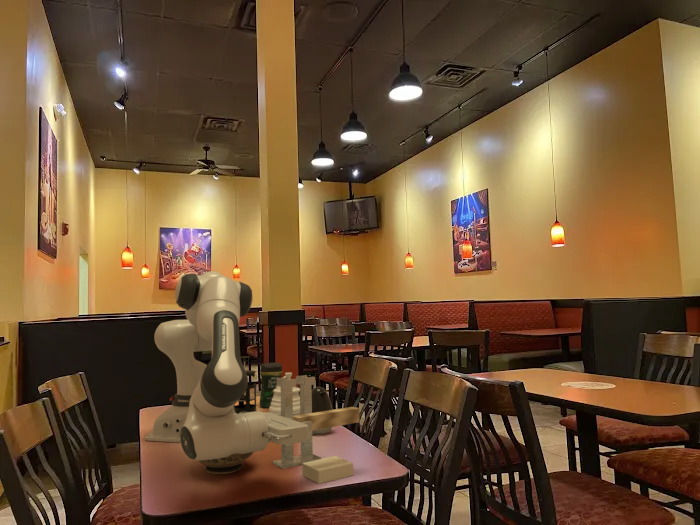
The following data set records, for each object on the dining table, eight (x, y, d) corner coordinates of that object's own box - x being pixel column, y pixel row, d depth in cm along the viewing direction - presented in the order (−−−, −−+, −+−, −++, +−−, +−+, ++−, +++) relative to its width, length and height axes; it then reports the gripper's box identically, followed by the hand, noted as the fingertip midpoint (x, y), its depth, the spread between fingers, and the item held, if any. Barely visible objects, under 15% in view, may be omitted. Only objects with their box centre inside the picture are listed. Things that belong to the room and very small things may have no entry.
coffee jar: (262, 409, 216) (262, 364, 218) (258, 406, 223) (257, 362, 225) (285, 406, 220) (284, 362, 222) (279, 403, 227) (279, 361, 229)
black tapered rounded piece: (311, 438, 167) (310, 390, 168) (299, 431, 176) (298, 386, 177) (339, 433, 171) (338, 387, 173) (326, 427, 181) (325, 383, 182)
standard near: (282, 468, 136) (281, 381, 138) (272, 463, 141) (271, 378, 142) (302, 464, 139) (301, 378, 141) (292, 459, 144) (290, 376, 146)
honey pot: (310, 421, 191) (309, 372, 192) (279, 427, 183) (279, 375, 184) (292, 416, 201) (291, 369, 202) (262, 421, 193) (262, 372, 195)
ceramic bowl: (260, 489, 128) (274, 428, 131) (189, 482, 121) (205, 417, 124) (238, 464, 150) (251, 411, 153) (177, 456, 143) (191, 402, 146)
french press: (260, 415, 203) (259, 356, 205) (236, 418, 199) (236, 358, 201) (251, 410, 214) (251, 354, 216) (229, 413, 210) (229, 356, 212)
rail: (298, 432, 124) (298, 417, 124) (292, 430, 127) (292, 416, 127) (359, 422, 134) (359, 408, 135) (352, 420, 137) (352, 406, 137)
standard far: (302, 464, 139) (301, 378, 141) (292, 459, 144) (290, 376, 146) (321, 460, 142) (320, 376, 144) (310, 455, 147) (309, 374, 149)
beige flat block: (318, 483, 123) (318, 470, 124) (302, 475, 130) (302, 463, 130) (353, 475, 129) (352, 462, 129) (335, 467, 136) (335, 455, 136)
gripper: (274, 424, 111) (328, 416, 119) (237, 411, 128) (286, 404, 136) (274, 455, 110) (328, 444, 118) (237, 437, 127) (287, 428, 135)
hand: (306, 422), depth 127 cm, fingers closed on rail, 3 cm apart
